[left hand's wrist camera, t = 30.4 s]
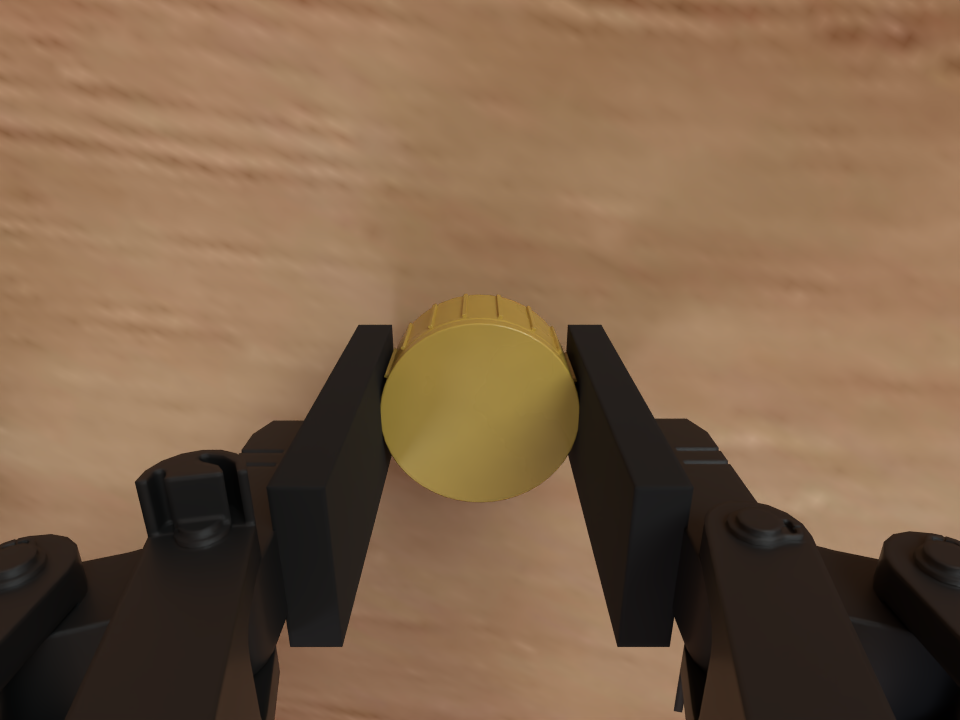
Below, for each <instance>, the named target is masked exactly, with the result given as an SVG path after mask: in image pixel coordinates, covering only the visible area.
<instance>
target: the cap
mask: <svg viewBox="0 0 960 720" xmlns="http://www.w3.org/2000/svg"><path fill="white" fill-rule="evenodd" d="M384 377H385V378H387V379H386V382H385V385H384V388H383V392H382V395H381V402H380V408H381V423H382V433H383V436H384V440H385V443H386V445H387V447H388V449H389V451H390V453H391V455H392V456H393V458H394V459H395V461H396V462H397V464H398V465H399V466H400V467H401V468H402V469H403V471H404V472H405V473H406V474H408V475H409V476H410V477H411V478H412V479H413V480H414V481H416V482H417V483H419V484H420V485H422V486H423V487H425V488H427V489H429V490H430V491H432V492H434V493H437V494H439V495H442V496H444V497H448V498H451V499H455V500H460V501H467V502H494V501H499V500H505V499H509V498H512V497H515V496H518V495H521V494H523V493H525V492H527V491H530V490H531V489H533V488H535V487H536V486H538V485H540V484H541V483H542V482H544V481H545V480H546V479H548V478H549V477H550V476H551V475H552V474H553V473H554V472H555V471H556V470H557V469H558V468H559V467H560V465H561V464H562V463H563V462H564V460H565V459H566V457H567V456H568V454H569V452H570V451H571V449H572V446H573V444H574V441H575V439H576V436H577V432H578V421H579V398H578V392H577V389H576V386H575V383H574V382H577V380H576V377H575V374H574V371H573V368H572V366H571V363H570V360H569V357H568V355H567V352H565V353H564V352H563V349H562V346H561V344H560V342H559V340H558V338H557V336H556V333H555V330H554V328H553V326H551V327H549V325H548V324H547V323H546V322H545V321H544V320H543V319H542V318H541V317H539V316H538V315H537V314H536V313H535V312H533V311H532V310H531V307H529V306H527V307H525V306H524V305H521V304H519V303H517V302H515V301H512V300H509V299H506V298H503V297H501V295H497V296H491V295H469V296H468V294H464V296H462V297H458V298H453V299H451V300H448V301H445V302H442V303H440V304H438V305H437V304H434V305H433V307H432V308H431V309H430V310H428V311H427V312H425V313H424V314H422V315H421V316H420V317H419V318H418V319H417V320H416V321H415V322H414V323H413V324H412V323H410V324H409V325H408V328H407V331H406V333H405V334H404V336H403V338H402V339H401V341H400V343H399V346H398V348H397V349H395V348H394V351H393V353H392V356H391V359H390V362H389V364H388V367H387V370H386V373H385V376H384Z"/></svg>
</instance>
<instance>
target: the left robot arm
mask: <svg viewBox="0 0 960 720" xmlns="http://www.w3.org/2000/svg"><path fill="white" fill-rule="evenodd" d="M566 352H567V355H568V357H569V360H570V363H571V366H572V368H573V371H574V374H575V377H576V380H577V382H574V383H575V386H576V389H577V392H578V398H579V421H578V432H577V436H576V439H575V441H574V444H573V446H572V449H571V451H570V452H569V454H568V456H569V460H570V464H571V468H572V472H573V476H574V479H575V483H576V487H577V491H578V495H579V499H580V503H581V507H582V511H583V514H584V518H585V522H586V526H587V530H588V534H589V538H590V542H591V546H592V549H593V553H594V557H595V561H596V565H597V569H598V573H599V577H600V581H601V584H602V588H603V592H604V596H605V600H606V604H607V608H608V612H609V616H610V619H611V623H612V627H613V631H614V635H615V639H616V643H617V647H670V641H671V634H672V628H673V621H674V617H675V620H676V622H677V625H678V628H679V630H680V633H681V635H682V638H683V641H684V643H685V644H684V650H683V656H682V662H681V668H680V675H679V681H678V687H677V693H676V699H675V706H674V711H677V712H682V710H683V705H684V708H685V717H686V720H960V541H958V540H956V539H952V538H949V537H943V536H942V535H937V534H932V533H922V532H911V531H909V532H903V533H898V534H893V535H892V536H890V537H889V538H888V539H887V540H886V541H884V543H883V547H882V550H881V554H880V557H879V559H874V558H869V557H864V556H859V555H854V554H849V553H844V552H840V551H835V550H830V549H827V548H823V547H819V546H816V544H815V542H814V539H813V537H812V536H811V534H810V533H809V532H808V530H807V529H806V528H805V526H804V525H803V524H802V523H801V522H799V521H798V520H796V519H795V518H793V517H792V516H790V515H789V514H788V513H786V512H783V511H781V510H779V509H776V508H774V507H771V506H769V505H765V504H761V503H757V501H756V500H755V499H754V497H753V496H752V494H751V493H750V491H749V490H748V489H747V487H746V486H745V484H744V483H743V482H742V480H741V479H740V477H739V476H738V475H737V473H736V472H735V470H734V469H733V468H732V466H731V465H730V464H728V461H727V459H726V458H725V456H724V455H723V453H722V452H721V451H719V450H718V446H717V445H716V444H715V442H714V441H713V439H712V438H711V437H710V435H709V434H708V432H706V431H705V430H703V429H702V428H700V427H699V426H697V425H696V424H694V423H692V422H691V421H689V420H688V419H655V418H654V417H653V415H652V413H651V411H650V410H649V408H648V406H647V404H646V403H645V401H644V399H643V397H642V396H641V394H640V392H639V390H638V389H637V387H636V385H635V383H634V382H633V380H632V378H631V376H630V375H629V373H628V371H627V369H626V368H625V366H624V364H623V362H622V361H621V359H620V357H619V355H618V353H617V352H616V350H615V348H614V346H613V345H612V343H611V341H610V339H609V338H608V336H607V334H606V332H605V331H604V329H603V327H602V325H568V333H567V350H566ZM392 353H393V334H392V325H358V327H357V329H356V330H355V332H354V334H353V336H352V338H351V339H350V341H349V343H348V345H347V346H346V348H345V350H344V352H343V353H342V355H341V357H340V359H339V360H338V362H337V364H336V366H335V367H334V369H333V371H332V373H331V374H330V376H329V378H328V380H327V381H326V383H325V385H324V387H323V388H322V390H321V392H320V394H319V395H318V397H317V399H316V401H315V402H314V404H313V406H312V408H311V409H310V411H309V413H308V415H307V416H306V418H305V420H304V421H272V422H271V423H269V424H268V425H266V426H265V427H263V428H262V429H260V430H259V431H257V432H256V433H254V434H253V435H252V436H251V438H250V439H249V440H248V442H247V443H246V445H245V446H244V448H243V449H242V453H239V455H238V454H236V453H232V452H228V451H224V450H200V451H194V452H189V453H183V454H180V455H177V456H174V457H171V458H169V459H166V460H163V461H161V462H159V463H157V464H156V465H154V466H152V467H151V468H149V469H147V470H146V471H145V472H144V473H143V474H142V475H141V476H140V477H139V478H138V479H137V480H136V481H135V485H136V489H137V493H138V497H139V501H140V505H141V509H142V513H143V518H144V522H145V526H146V530H147V534H148V538H147V541H146V543H145V545H144V547H143V549H140V550H136V551H132V552H129V553H124V554H119V555H114V556H109V557H104V558H99V559H94V560H89V561H85V562H82V561H81V557H80V554H79V551H78V547H77V545H76V544H75V543H74V542H73V541H72V540H70V539H69V538H68V537H64V536H59V535H53V534H48V535H37V536H28V537H23V538H18V540H15V539H14V540H11V541H8V542H5V543H2V544H1V545H0V720H274V719H275V710H276V701H277V692H278V683H279V674H280V670H279V663H278V656H277V650H276V644H277V641H278V638H279V636H280V633H281V631H282V628H283V625H284V623H285V620H286V622H287V628H288V635H289V642H290V647H342V646H343V642H344V639H345V635H346V631H347V627H348V623H349V619H350V615H351V611H352V607H353V604H354V600H355V596H356V592H357V588H358V584H359V580H360V576H361V572H362V569H363V565H364V561H365V557H366V553H367V549H368V545H369V541H370V537H371V534H372V530H373V526H374V522H375V518H376V514H377V510H378V506H379V502H380V499H381V495H382V491H383V487H384V483H385V479H386V475H387V471H388V467H389V464H390V460H391V456H392V455H391V453H390V451H389V449H388V447H387V445H386V443H385V440H384V436H383V433H382V423H381V408H380V402H381V395H382V392H383V388H384V385H385V382H386V379H387V378H385V377H384V376H385V373H386V370H387V367H388V364H389V362H390V359H391V356H392Z"/></svg>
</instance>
